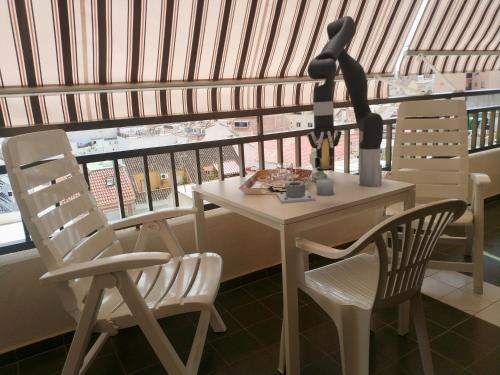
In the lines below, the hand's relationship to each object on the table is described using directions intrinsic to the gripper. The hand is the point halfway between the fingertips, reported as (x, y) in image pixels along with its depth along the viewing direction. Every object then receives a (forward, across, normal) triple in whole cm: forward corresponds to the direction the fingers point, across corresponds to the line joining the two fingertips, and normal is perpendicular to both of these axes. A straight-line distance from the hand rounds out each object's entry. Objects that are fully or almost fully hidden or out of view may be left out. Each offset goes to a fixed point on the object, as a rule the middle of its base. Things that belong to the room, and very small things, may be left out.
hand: (324, 157), depth 150 cm
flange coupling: (+18, +10, -10) cm, 23 cm away
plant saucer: (+19, +10, -29) cm, 36 cm away
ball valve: (+19, -9, -38) cm, 43 cm away
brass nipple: (+4, 0, 0) cm, 4 cm away
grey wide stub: (+18, -4, -13) cm, 23 cm away
